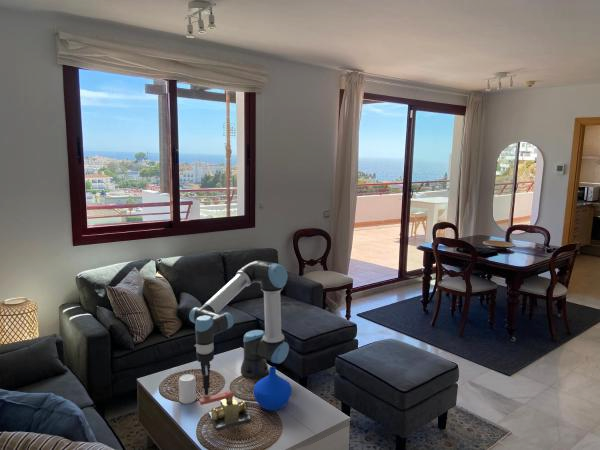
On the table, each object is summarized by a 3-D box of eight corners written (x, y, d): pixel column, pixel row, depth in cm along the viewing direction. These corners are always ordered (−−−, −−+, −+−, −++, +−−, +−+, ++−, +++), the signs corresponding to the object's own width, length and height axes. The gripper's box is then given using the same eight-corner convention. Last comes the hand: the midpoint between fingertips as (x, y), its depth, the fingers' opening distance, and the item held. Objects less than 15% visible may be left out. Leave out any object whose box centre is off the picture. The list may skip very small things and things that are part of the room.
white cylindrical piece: (191, 405, 215) (191, 382, 213) (176, 403, 216) (175, 380, 214) (198, 396, 223) (198, 374, 221) (183, 394, 224) (183, 372, 222)
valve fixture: (241, 406, 215) (241, 386, 213) (250, 420, 203) (250, 399, 202) (208, 414, 208) (208, 394, 206) (216, 429, 196) (216, 408, 195)
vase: (248, 399, 221) (248, 363, 218) (283, 391, 228) (283, 356, 225) (260, 419, 204) (260, 380, 201) (297, 410, 211) (297, 373, 208)
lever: (231, 393, 206) (231, 390, 206) (234, 397, 203) (234, 393, 203) (199, 401, 199) (198, 398, 199) (201, 405, 196) (201, 402, 196)
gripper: (195, 345, 202) (196, 393, 206) (197, 358, 190) (198, 409, 194) (212, 343, 204) (213, 391, 208) (215, 356, 192) (216, 406, 196)
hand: (206, 399), depth 201 cm, fingers closed
